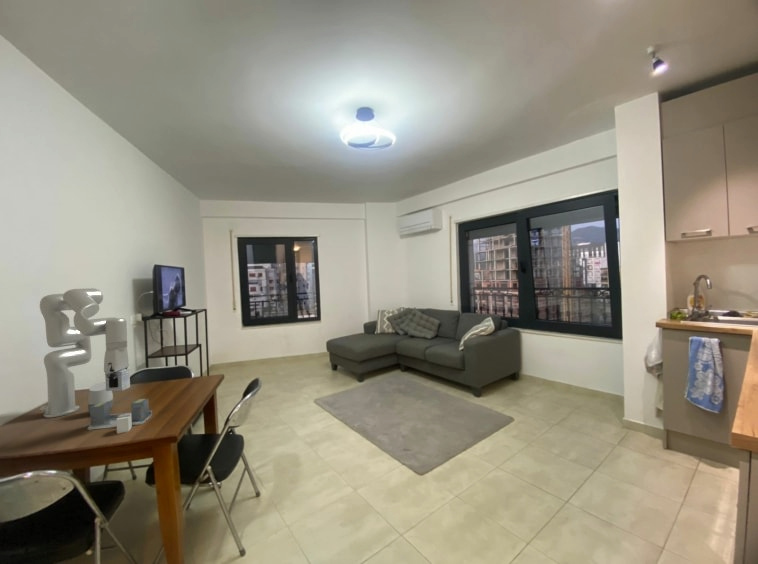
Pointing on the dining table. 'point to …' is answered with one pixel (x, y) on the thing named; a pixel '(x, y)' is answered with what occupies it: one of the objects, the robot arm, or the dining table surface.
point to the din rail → (105, 420)
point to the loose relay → (124, 423)
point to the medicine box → (120, 380)
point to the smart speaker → (99, 395)
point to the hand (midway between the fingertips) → (117, 384)
